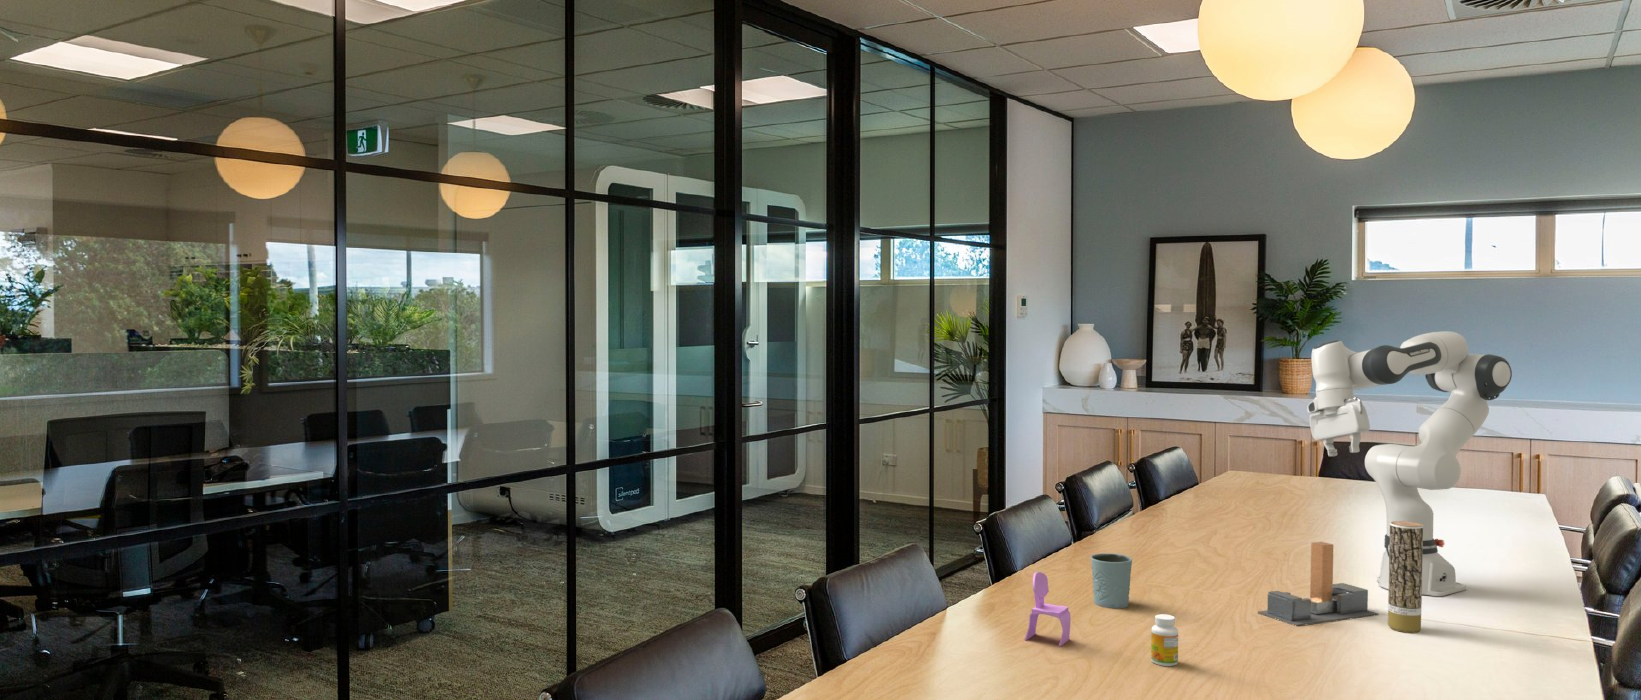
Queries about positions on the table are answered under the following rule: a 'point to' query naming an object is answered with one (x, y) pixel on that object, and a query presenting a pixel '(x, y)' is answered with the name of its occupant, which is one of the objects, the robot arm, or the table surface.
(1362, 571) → the table surface
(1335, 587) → the grey u-shaped block
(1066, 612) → the toy chair
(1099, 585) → the grey-green cup
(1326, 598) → the brown piece
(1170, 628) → the supplement bottle
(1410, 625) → the paper tube
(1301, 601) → the socket
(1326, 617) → the grey rectangular plate
